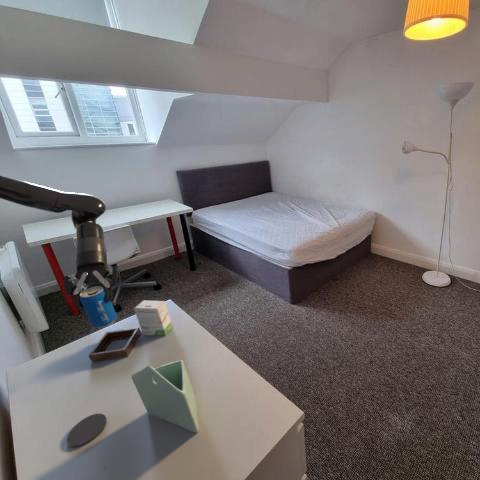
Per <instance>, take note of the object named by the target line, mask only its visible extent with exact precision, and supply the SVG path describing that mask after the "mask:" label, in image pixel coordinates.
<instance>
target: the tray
mask: <svg viewBox="0 0 480 480" xmlns="http://www.w3.org/2000/svg"><path fill="white" fill-rule="evenodd" d="M141 335H143V333H142V330H141V327H140V326H137V327H132V328H125V329H117V330H110V331H106V332H105V333H104V334H103V336H102V337H101V338H100V340H99V341H98V342H97V343H96V344H95V346H94V347H93V349H92V350H91V352H90V353H89V354H88V358H89V360H90V361H91V363H96V362H103V361H104V362H105V361H110V360H117V359H122V358H128V357H129V356H130V354H131V353H132V351H133V349H134V347H135V346H136V344H137V343H138V341H139V340H140V337H141ZM127 339H128V340H127ZM120 340H127V342H126V344H125V345H124V347H123V348H119V349H112V350H107V349H108V347H109V346H110V344H111V343H112V342H114V341H120Z"/></svg>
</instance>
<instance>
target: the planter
mask: <svg viewBox="0 0 480 480" xmlns="http://www.w3.org/2000/svg"><path fill="white" fill-rule="evenodd" d="M131 380H132V383H133V384H134V387H135V389H136V391H137V393H138V395H139V398H140V399H141V401H142V404H143V406H144V408H145V410H146V412H147V414H149V415H151V416H154V417H157V418H158V419H161V420H164V421H166V422H168V423H170V424H173V425H176V426H178V427H180V428H183V429H185V430H187V431H190V432H193V433H195V434H198V433H199V430H200V428H199V419H198V407H197V400H196V394H195V392H194V389H193V386H192V383H191V380H190V377H189V373H188V372H187V369H186V366H185V363H184V360H183V359H179V360H176V361H173V362H168V363H165V364H163V365H160V366H157V367H153V366H151V365H146V366H145V367H144V368H142V369H140V370H139V371H136V372H135V373H132V374H131Z"/></svg>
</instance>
